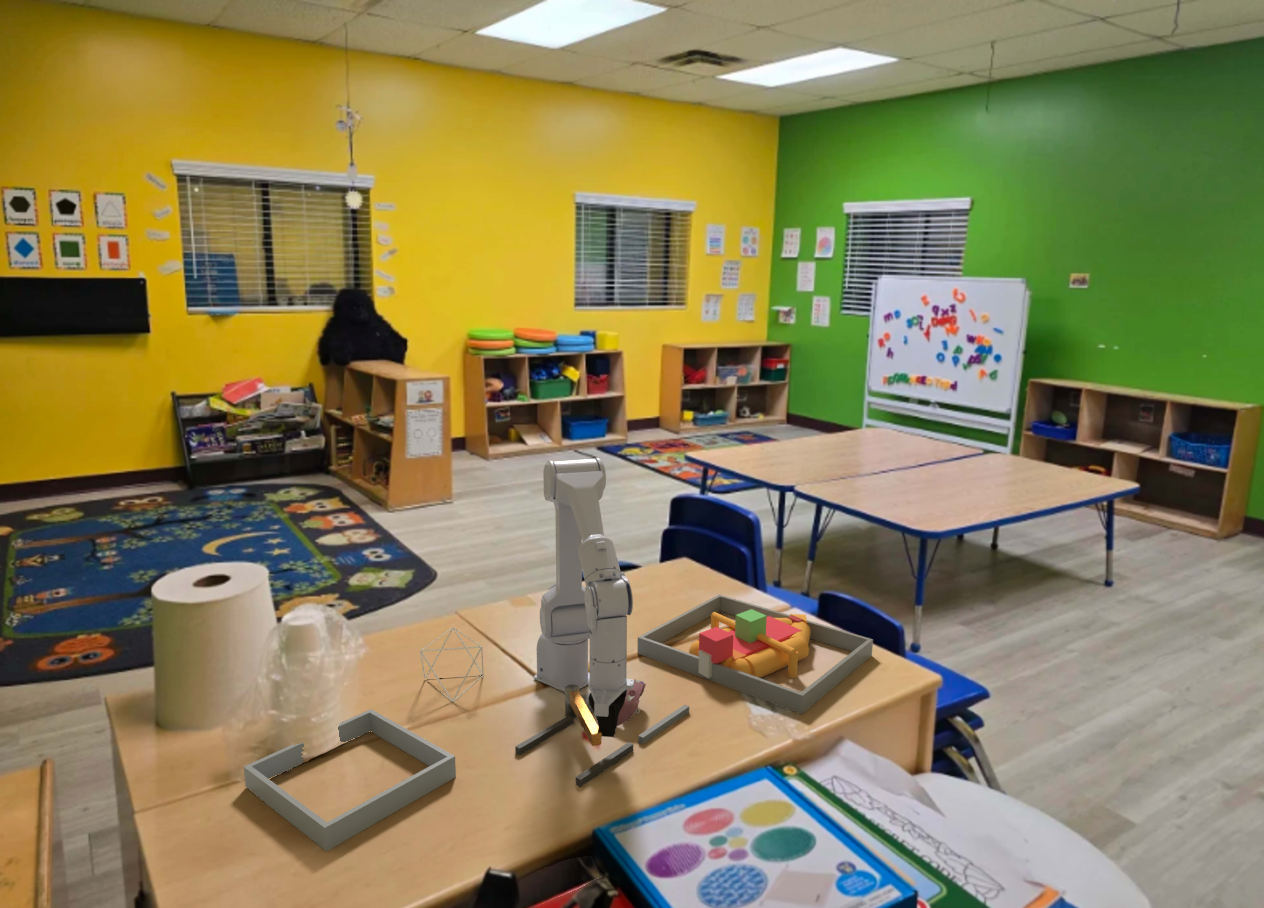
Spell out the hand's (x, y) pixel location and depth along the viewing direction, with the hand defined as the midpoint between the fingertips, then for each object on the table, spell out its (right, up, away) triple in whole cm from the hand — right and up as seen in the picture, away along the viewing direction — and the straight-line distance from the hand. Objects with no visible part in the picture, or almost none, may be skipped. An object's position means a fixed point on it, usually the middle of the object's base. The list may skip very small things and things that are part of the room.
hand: (607, 734), depth 132 cm
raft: (+28, +4, +37) cm, 46 cm away
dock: (0, -2, +8) cm, 8 cm away
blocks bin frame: (+28, +4, +37) cm, 47 cm away
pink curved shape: (+3, -1, +14) cm, 14 cm away
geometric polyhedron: (-29, +1, +23) cm, 37 cm away
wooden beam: (-4, -2, +6) cm, 8 cm away
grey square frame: (-38, -5, -6) cm, 39 cm away
